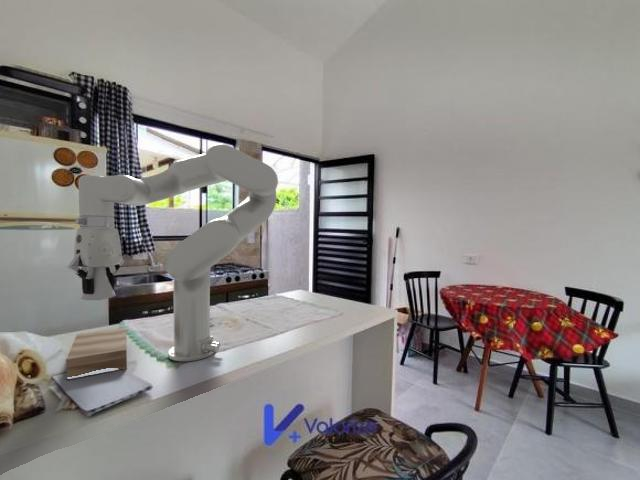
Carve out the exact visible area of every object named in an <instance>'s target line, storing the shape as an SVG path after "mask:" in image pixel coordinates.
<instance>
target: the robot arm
mask: <svg viewBox="0 0 640 480" xmlns="http://www.w3.org/2000/svg"><path fill="white" fill-rule="evenodd" d="M225 181H227V182H230V183H232V184H233V185H236V186H237V187H239V188H242V189H244V190H246V191H248V195H247V197H246V198H245V199H244V200H243V201H241V202H240V203H239V204H238V205H237V206H235V207H234V208H233V209H231V210H230V211H229V212H227V213H225V214H224V215H223V216H221V217H219V218H215V219H212V220H210V221H208V222H206V223H205V224H203V225H202V226H201V227H199V228H198V229H197V230H195V231H194V232H192V233H191V234H190V235H188V236H187V237H186V238H185V239H183V240H182V241H180V242H179V243H177V244H176V245H175V246H174V247H172V248H171V249H170V250H169V251H168V253H167V255H166V257H165V261H164V267H165V270H166V272H167V274H168V275H169V276H170V277H171V278H172V279H173V346H172V347H170V348H169V349H168V351H167V357H168V358H169V359H170V360H172V361H174V362H194V361H200V360H202V359H206V358H208V357H210V356H212V355H213V354H214V353H218V352H219V350H220V347H221V342H218V341H214V336H213V335H211V312H210V311H211V306H210V305H211V304H210V300H211V295H210V294H211V268H212V267H213V266H215V265H216V264H218V263H219V261H220V262H221V260H222V259H224V258H225V257H226V256H228V255H229V254H230V253H231V252H233V251H234V250H236V247H237V246H238V245H239V243H240V242H242V241H243V240H244V239H245V238H247V237H249V235H251V234H252V233H253V232H254V231H256V230H257V229H258V228H260V226H262V225H263V224H264V223H265V222H266V221H267V220H268V219H269V218H270V217H271V216H272V214H273V211H274V209H275V207H276V204H277V203H276V202H277V187H278V184H279V178H278V174H277V172H276V171H275V169H273V167H271V166H270V165H268V164H267V163H265V162H263V161H261V160H259V159H256V158H255V157H252V156H251V155H249V154H247V153H245V152H243V151H241V150H240V149H237V148H235V147H233V146H231V145H229V144H225V143H217V144H216V143H215V144H213V145H210V147H209V148H208V149H207V150H206V152H205V153H202V154H199V155H195V156H191V157H188V158H183V159H178V160H176V161H174V162H172V163H171V164H170V165H169V167H168V168H167V169H166V170H164V171H162V172H159V173H157V174H154V175H153V174H152V175H151V176H147V177H142V178H135V177H133V176H130V175H125V174H116V175H107V176H103V175H94V174H93V175H91V174H88V175H85V174H83V175H81V176H79V178H78V212H79V213H78V215H79V216H78V218H75V220H74V222H75V224H76V225H78V226H79V228H77V229H76V233H75V240H74V248H73V249H74V251H73V258H72V260H70V261H71V262H70V263H69V264H68V265H67V269H68V270H70V271H71V272H73V273H74V274H75V275H76V276H78V278H79V279H81V290H82V294H83V293H84V294H94V279H91V277H92V273H93V269H94V267H102V266H105V272H106V275H107V278H108V280H109V282H110V284H111V286H112V288H113V290H115V276H116V275H117V272H118V270H119V269H120V268H121V267H122V266H123V265H124V264H125V259H124V258H123V256H122V255H123V254H122V243H121V238H120V234H119V231H118V228H115V210H114V209H115V206H114V205H115V204H121V205H128V206H135V207H137V206H138V207H139V206H144V205H149V204H153V203H156V202H159V201H163V200H166V199H169V198H172V197H175V196H178V195H182V194H184V193H186V192H190V191H193V190H197V189H200V188H204V187H207V186H212V185H215V184H219V183H224V182H225Z"/></svg>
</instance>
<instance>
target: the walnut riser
mask: <svg viewBox="0 0 640 480" xmlns="http://www.w3.org/2000/svg"><path fill="white" fill-rule="evenodd" d="M127 347H128V346H127V326H126V327H119V328H110V329H105V330H104V329H103V330H97V331H96V330H95V331H89V332H80V333H77V334H76V335H75V338H74V340H73V343H72V345H71V347H70V350H69V351H68V354H67V356H66V360H65V362H66V363H65V368H66V378H67V377H72V376H78V375H81V374H85V373H89V372H92V371H96V370H101V369H106V368H118V369H124V370H127V369H128V360H127V359H128V358H127V357H128V355H127V353H128V352H127V350H128V349H127Z"/></svg>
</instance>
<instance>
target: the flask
mask: <svg viewBox="0 0 640 480" xmlns="http://www.w3.org/2000/svg"><path fill="white" fill-rule="evenodd" d="M91 279H94V294H84V293H83V292H82V296H81V299H80V300H84V301H100V300H101V301H102V300H106V299H107V300H108V299H111V298H113V297H116V293H115V291H114V290H115V289H114V290H113V288H112V286H111V284H110V282H109V280H108V278H107V275H106V272H105V266H102V267H94V269H93V273H92V277H91Z"/></svg>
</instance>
